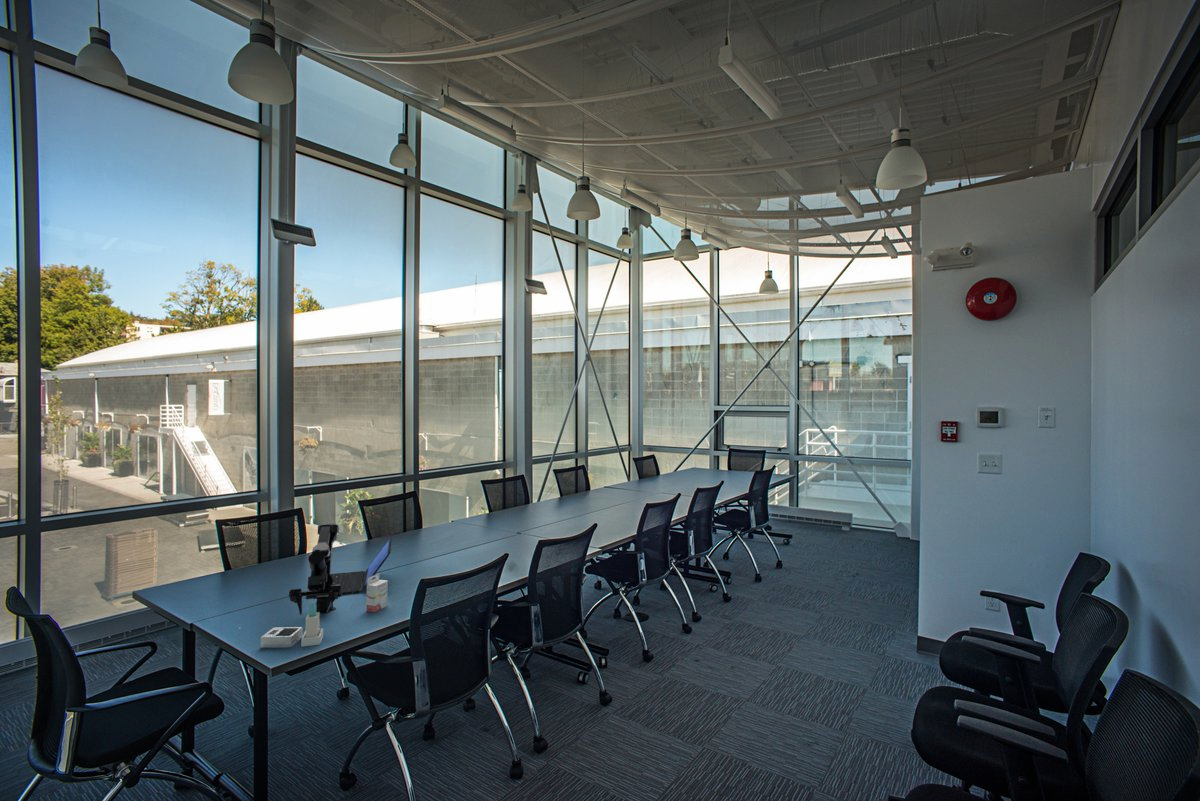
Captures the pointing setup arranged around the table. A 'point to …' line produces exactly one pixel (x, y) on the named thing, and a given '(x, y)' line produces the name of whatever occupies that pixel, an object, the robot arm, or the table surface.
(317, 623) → the plug
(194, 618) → the table surface
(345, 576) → the laptop
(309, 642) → the box
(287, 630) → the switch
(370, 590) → the ink cartridge box
